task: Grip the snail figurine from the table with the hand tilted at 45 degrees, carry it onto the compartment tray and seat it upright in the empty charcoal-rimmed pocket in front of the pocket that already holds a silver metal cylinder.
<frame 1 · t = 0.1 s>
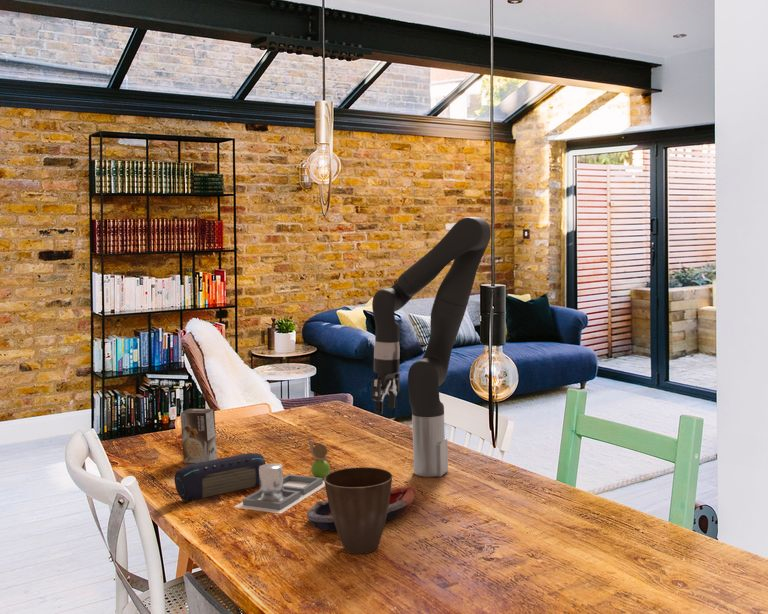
hand: (385, 410, 226), 17 cm above the table, tool pointing down, fingers open, 8 cm apart
portable speaker: (223, 495, 209), on the table
compartment tray: (284, 499, 203), on the table
plant pot: (360, 548, 170), on the table
coffee box: (200, 461, 243), on the table
snail figurine: (319, 478, 220), on the table
silver metal cylinder: (272, 501, 198), resting on compartment tray
dish: (365, 519, 188), on the table
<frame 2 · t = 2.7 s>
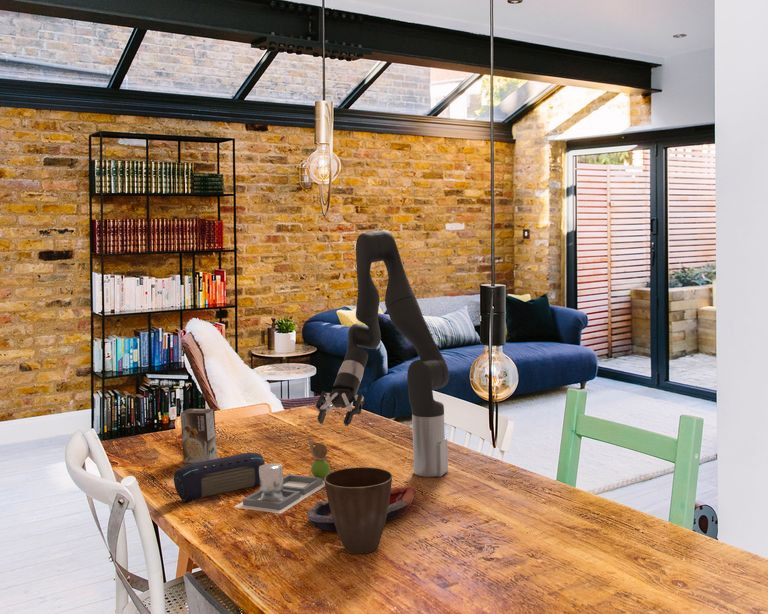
hand: (332, 423, 228), 14 cm above the table, tool tilted 45°, fingers open, 8 cm apart
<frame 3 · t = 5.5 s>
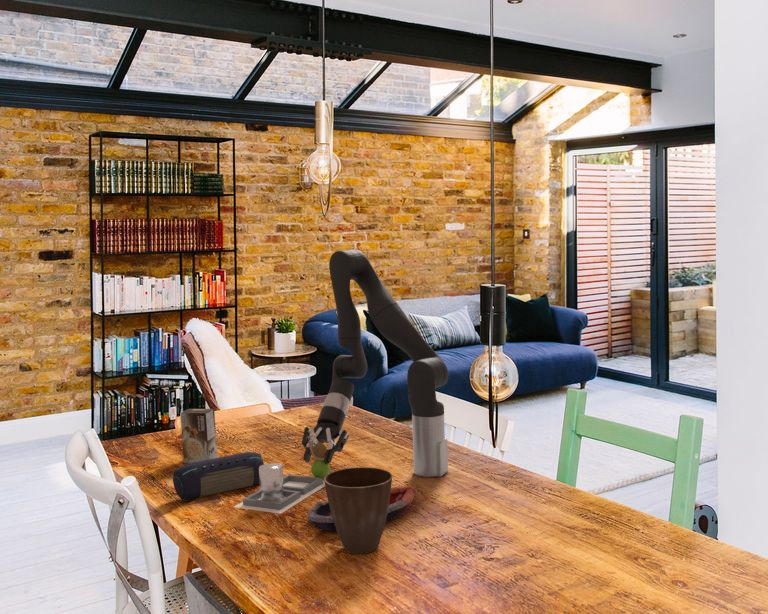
hand: (316, 461, 218), 5 cm above the table, tool tilted 45°, fingers closed on snail figurine, 5 cm apart
snail figurine: (319, 478, 220), on the table, touching gripper
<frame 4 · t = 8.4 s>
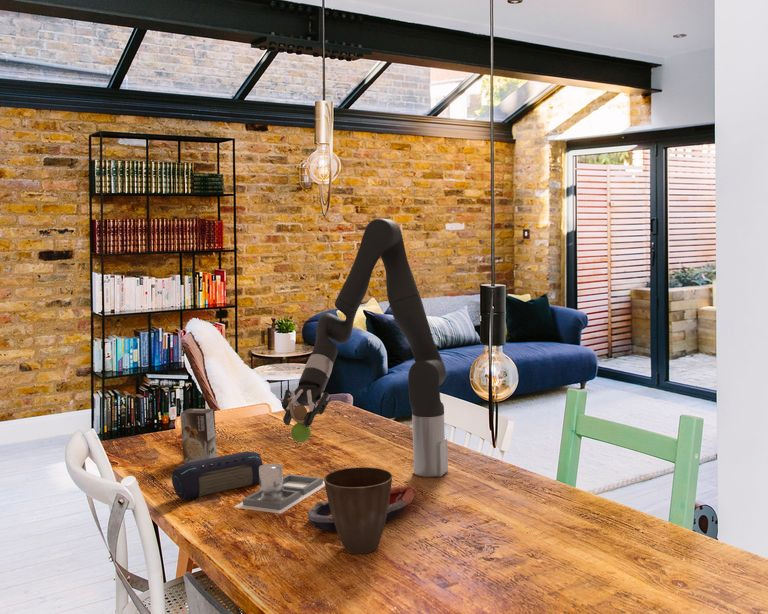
hand: (296, 424, 209), 18 cm above the table, tool tilted 45°, fingers closed on snail figurine, 5 cm apart
snail figurine: (300, 442, 212), point 13 cm above the table, touching gripper
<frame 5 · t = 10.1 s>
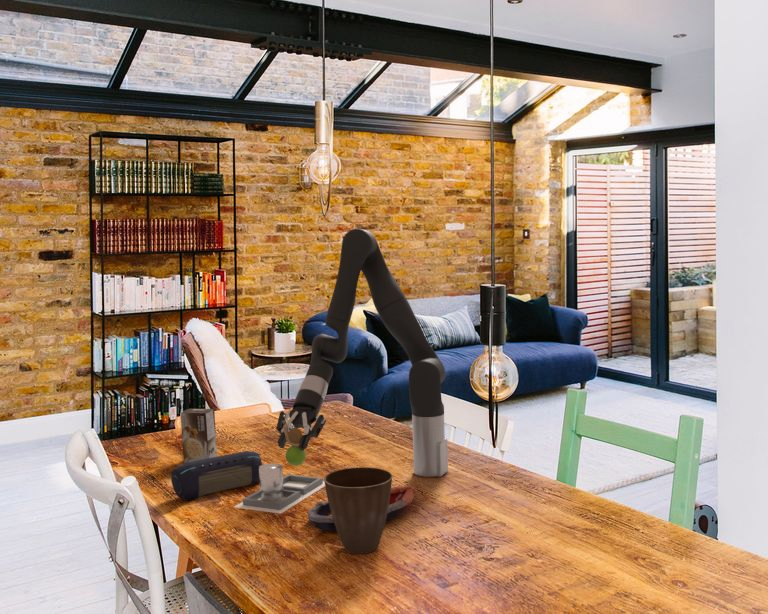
hand: (290, 447, 206), 13 cm above the table, tool tilted 45°, fingers closed on snail figurine, 5 cm apart
snail figurine: (294, 465, 208), point 7 cm above the table, touching gripper
when the fingers open (8 cm above the table, at t = 11.6 s): snail figurine drops 1 cm, resting on compartment tray.
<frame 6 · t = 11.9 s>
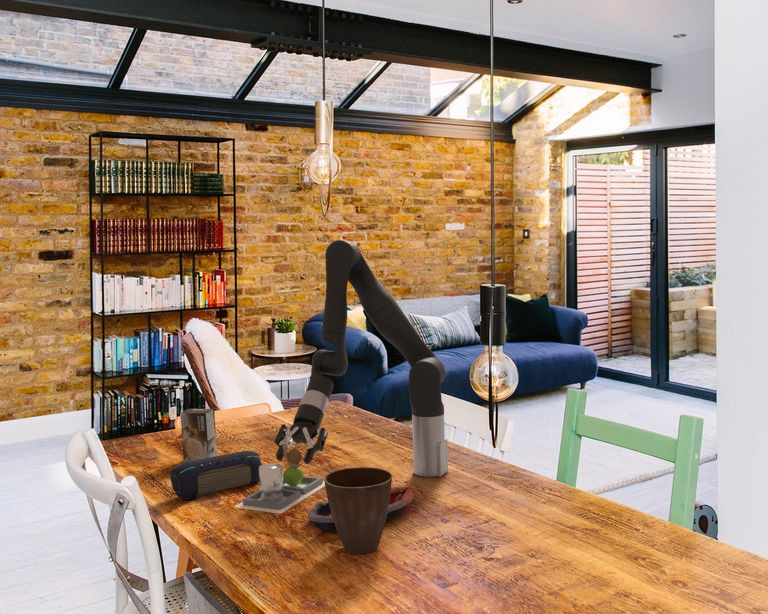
hand: (292, 461, 207), 9 cm above the table, tool tilted 45°, fingers open, 8 cm apart
snail figurine: (291, 485, 210), point 2 cm above the table, touching gripper, compartment tray
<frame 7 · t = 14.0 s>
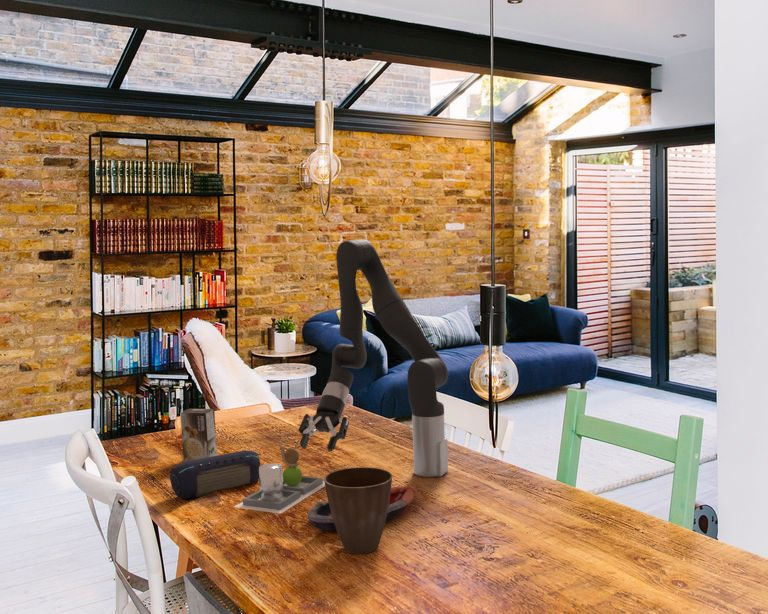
hand: (316, 448, 218), 9 cm above the table, tool tilted 45°, fingers open, 8 cm apart
snail figurine: (291, 486, 210), point 1 cm above the table, touching compartment tray
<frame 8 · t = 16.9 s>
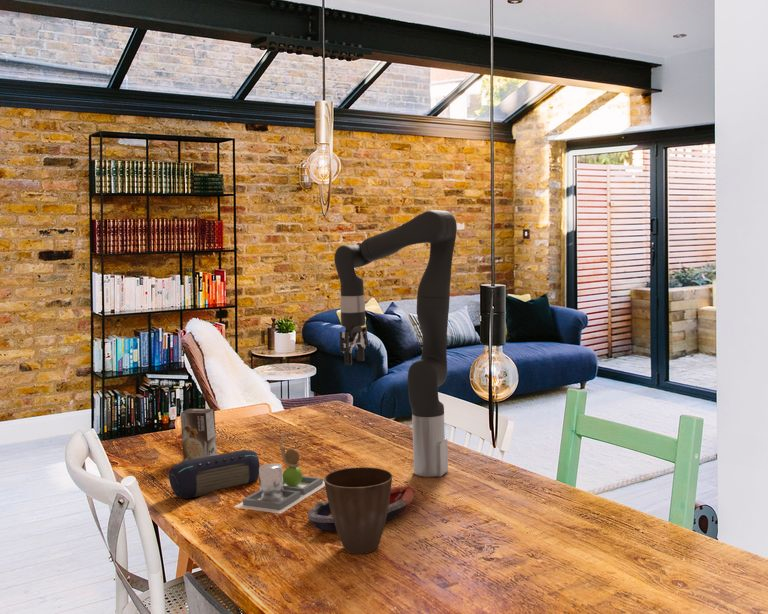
hand: (354, 362, 236), 30 cm above the table, tool pointing down, fingers open, 8 cm apart
at the end: snail figurine 1.7 cm from the target spot on the compartment tray, point 1.3 cm above the compartment tray's base; snail figurine tilted 0°; the gripper is holding nothing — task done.
